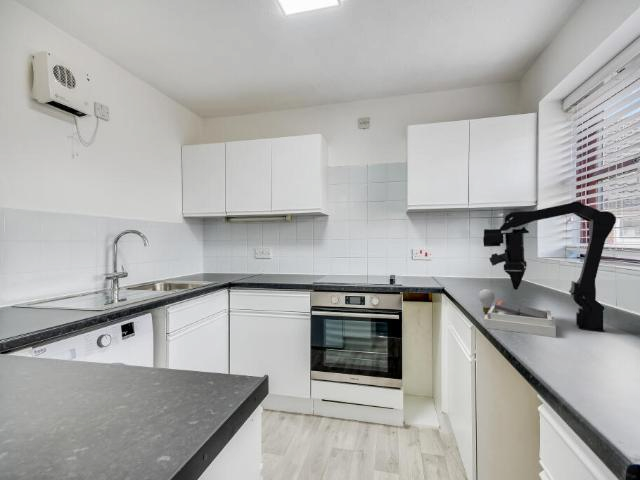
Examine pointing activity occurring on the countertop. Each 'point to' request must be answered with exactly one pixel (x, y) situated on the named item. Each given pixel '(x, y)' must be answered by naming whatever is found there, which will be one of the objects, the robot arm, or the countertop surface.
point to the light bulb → (486, 299)
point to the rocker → (519, 309)
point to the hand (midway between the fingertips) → (516, 287)
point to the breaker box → (520, 322)
